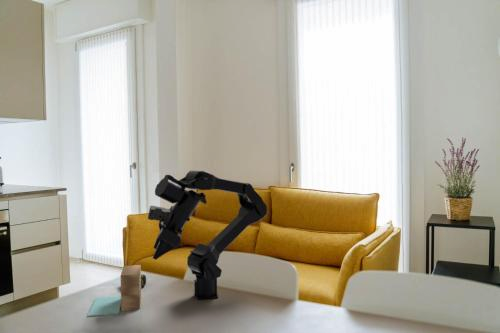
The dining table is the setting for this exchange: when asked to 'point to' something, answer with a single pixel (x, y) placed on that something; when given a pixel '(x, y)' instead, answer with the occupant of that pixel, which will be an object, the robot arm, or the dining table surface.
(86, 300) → the dining table surface
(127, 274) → the light brown wooden block
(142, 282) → the tape measure
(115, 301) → the mat
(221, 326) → the dining table surface
